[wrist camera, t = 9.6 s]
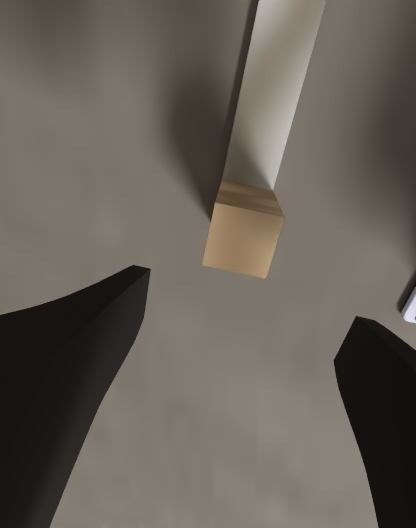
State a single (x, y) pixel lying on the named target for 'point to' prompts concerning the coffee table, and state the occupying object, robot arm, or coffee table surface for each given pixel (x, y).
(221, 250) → the turner
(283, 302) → the coffee table surface
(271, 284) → the coffee table surface
